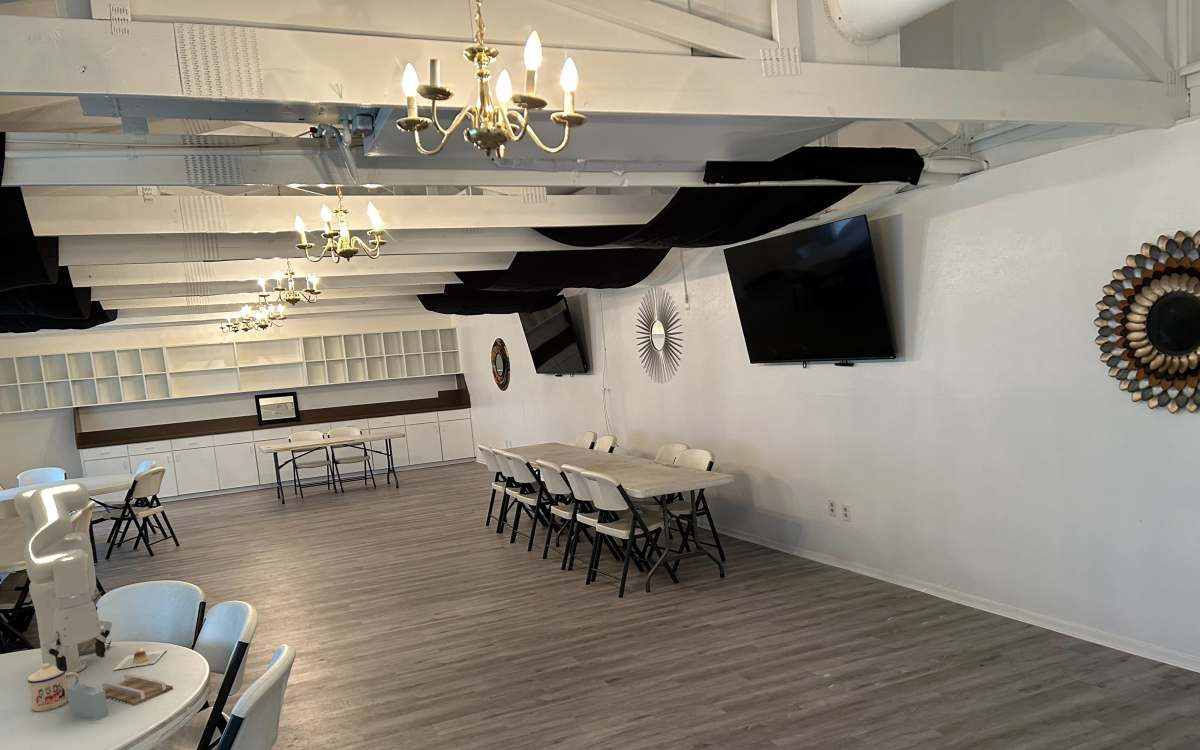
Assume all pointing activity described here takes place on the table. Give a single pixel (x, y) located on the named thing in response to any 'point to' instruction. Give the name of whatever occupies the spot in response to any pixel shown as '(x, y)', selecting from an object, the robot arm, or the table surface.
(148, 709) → the table surface
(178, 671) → the table surface
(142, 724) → the table surface
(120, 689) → the bottom track
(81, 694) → the door panel
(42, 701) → the teacup with lid
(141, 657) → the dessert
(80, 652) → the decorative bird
